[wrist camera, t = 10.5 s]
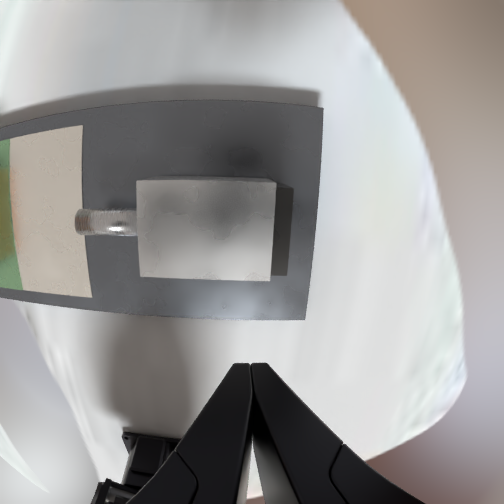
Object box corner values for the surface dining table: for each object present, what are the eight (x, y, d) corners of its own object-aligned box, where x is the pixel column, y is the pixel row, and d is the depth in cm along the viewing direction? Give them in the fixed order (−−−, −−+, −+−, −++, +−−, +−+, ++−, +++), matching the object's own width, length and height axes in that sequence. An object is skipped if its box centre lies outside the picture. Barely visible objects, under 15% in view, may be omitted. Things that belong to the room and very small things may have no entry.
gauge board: (301, 311, 20) (329, 379, 13) (-31, 285, 18) (-78, 317, 11) (317, 111, 16) (365, 84, 9) (-45, 145, 15) (-101, 152, 8)
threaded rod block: (277, 257, 17) (287, 281, 14) (97, 251, 17) (69, 272, 13) (282, 179, 16) (295, 184, 12) (93, 178, 15) (61, 184, 12)
